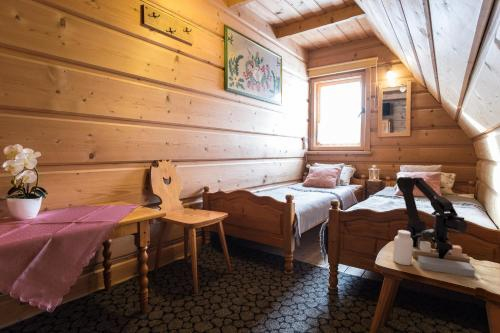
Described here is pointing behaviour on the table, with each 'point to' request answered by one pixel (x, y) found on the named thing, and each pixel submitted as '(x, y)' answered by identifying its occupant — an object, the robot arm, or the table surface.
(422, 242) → the block
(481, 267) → the table surface
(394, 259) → the pill bottle
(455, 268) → the block
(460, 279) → the table surface
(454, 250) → the block
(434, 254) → the tan long bar
